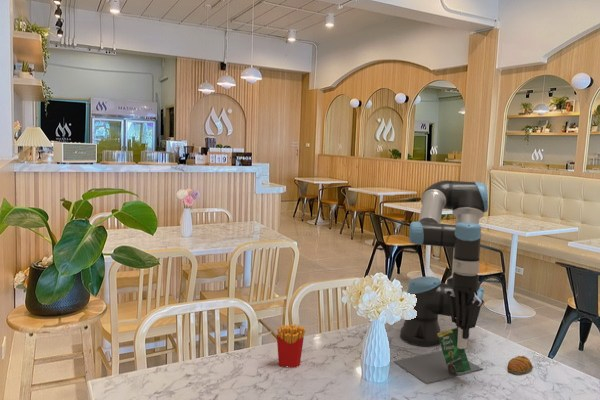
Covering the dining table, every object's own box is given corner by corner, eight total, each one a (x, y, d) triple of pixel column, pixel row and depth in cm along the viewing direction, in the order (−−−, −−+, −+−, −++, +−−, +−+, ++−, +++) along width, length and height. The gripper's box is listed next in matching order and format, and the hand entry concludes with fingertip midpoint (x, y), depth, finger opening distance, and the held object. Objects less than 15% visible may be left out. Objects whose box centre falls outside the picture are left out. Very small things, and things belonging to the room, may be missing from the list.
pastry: (522, 378, 150) (523, 367, 150) (501, 371, 155) (502, 359, 155) (533, 369, 157) (534, 358, 156) (513, 362, 162) (514, 352, 161)
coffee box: (447, 374, 151) (436, 332, 155) (454, 372, 152) (443, 331, 156) (464, 372, 144) (451, 328, 148) (471, 370, 145) (458, 327, 150)
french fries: (275, 367, 152) (277, 328, 150) (276, 361, 156) (277, 323, 155) (304, 367, 152) (305, 329, 151) (303, 361, 157) (305, 324, 155)
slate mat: (393, 362, 158) (393, 360, 158) (447, 350, 169) (447, 349, 169) (426, 384, 144) (426, 383, 144) (482, 369, 155) (482, 368, 155)
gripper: (441, 269, 149) (438, 342, 150) (473, 278, 137) (469, 357, 139) (458, 267, 152) (455, 339, 154) (491, 276, 141) (487, 353, 143)
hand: (462, 347), depth 147 cm, fingers closed
